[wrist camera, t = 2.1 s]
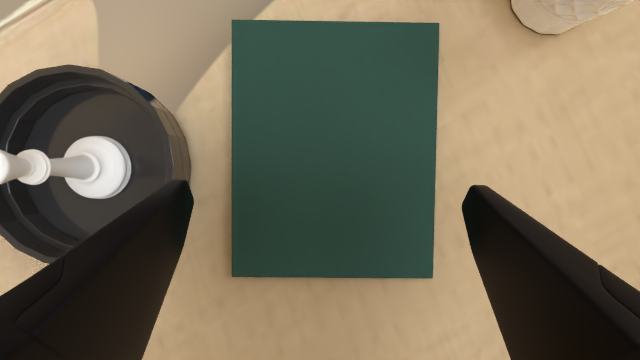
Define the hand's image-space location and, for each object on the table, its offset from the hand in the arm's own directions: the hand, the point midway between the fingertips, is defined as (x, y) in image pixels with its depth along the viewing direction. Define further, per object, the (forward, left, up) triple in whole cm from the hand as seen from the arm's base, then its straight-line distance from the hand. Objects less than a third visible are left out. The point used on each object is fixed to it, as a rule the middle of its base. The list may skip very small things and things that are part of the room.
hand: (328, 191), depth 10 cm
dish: (-2, +17, -14) cm, 23 cm away
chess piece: (-2, +17, -14) cm, 23 cm away
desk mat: (+2, -1, -14) cm, 15 cm away
